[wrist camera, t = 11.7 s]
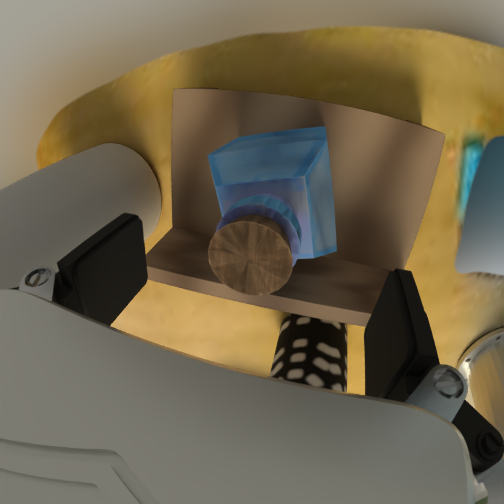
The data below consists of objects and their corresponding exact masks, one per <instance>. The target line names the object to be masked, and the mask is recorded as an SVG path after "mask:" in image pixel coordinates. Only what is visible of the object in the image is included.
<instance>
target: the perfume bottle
mask: <svg viewBox="0 0 504 504" xmlns="http://www.w3.org/2000/svg"><path fill="white" fill-rule="evenodd" d="M208 160H209V164H210V168H211V173H212V177H213V181H214V185H215V190H216V194H217V198H218V202H219V206H220V211H221V215H222V219H221V221H220V222H219V223H218V226H217V229H216V233H215V235H214V236H213V238H212V239H211V241H210V245H209V249H208V256H209V263H210V265H211V268H212V270H213V272H214V274H215V275H216V276H217V277H218V278H219V279H220V281H221V282H222V283H223V284H225V285H226V286H228V287H229V288H231V289H232V290H234V291H237V292H240V293H242V294H246V295H254V296H259V295H266V294H270V293H272V292H274V291H277V290H279V289H280V288H281V287H282V286H283V285H284V284H285V283H286V282H287V281H288V279H289V277H290V275H291V273H292V267H293V266H294V265H295V263H296V261H297V259H308V258H316V257H319V256H323V255H326V254H329V253H332V252H336V251H337V244H336V224H335V209H334V197H333V186H332V177H331V167H330V158H329V150H328V142H327V135H326V127H325V126H322V127H311V128H301V129H292V130H284V131H276V132H269V133H262V134H255V135H249V136H242V137H238V138H236V139H234V140H232V141H231V142H229V143H227V144H226V145H224V146H222V147H220V148H219V149H217V150H215V151H214V152H212V153H210V154H209V155H208Z"/></svg>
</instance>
